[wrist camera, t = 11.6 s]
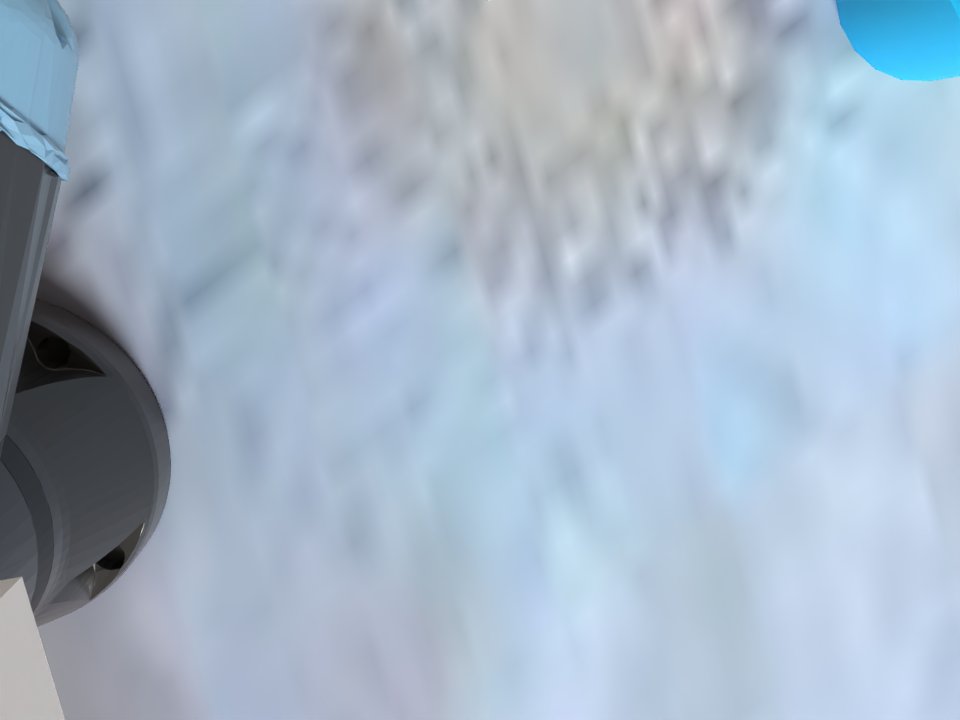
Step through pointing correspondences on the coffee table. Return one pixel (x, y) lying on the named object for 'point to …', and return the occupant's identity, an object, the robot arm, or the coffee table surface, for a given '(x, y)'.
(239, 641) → the coffee table surface
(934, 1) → the mug
